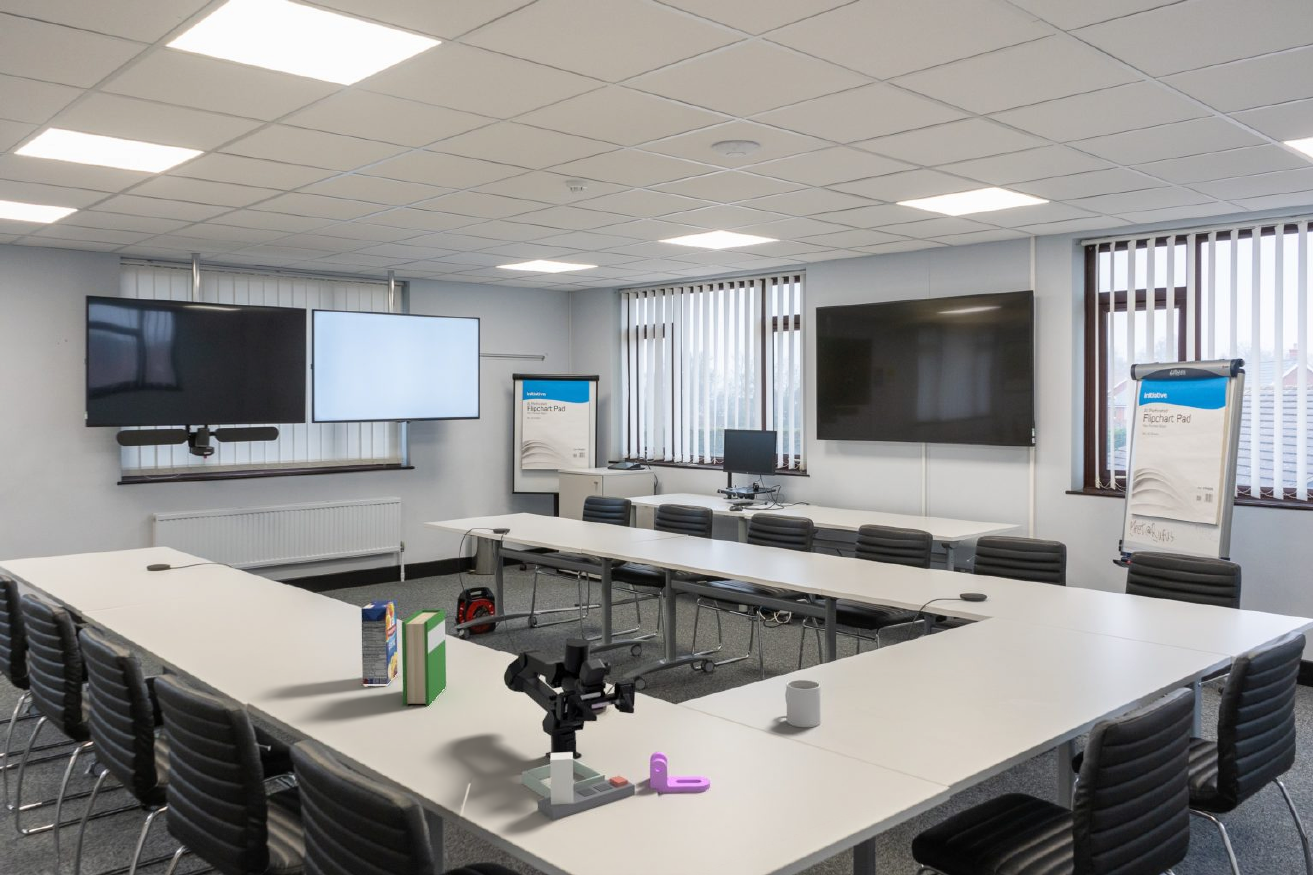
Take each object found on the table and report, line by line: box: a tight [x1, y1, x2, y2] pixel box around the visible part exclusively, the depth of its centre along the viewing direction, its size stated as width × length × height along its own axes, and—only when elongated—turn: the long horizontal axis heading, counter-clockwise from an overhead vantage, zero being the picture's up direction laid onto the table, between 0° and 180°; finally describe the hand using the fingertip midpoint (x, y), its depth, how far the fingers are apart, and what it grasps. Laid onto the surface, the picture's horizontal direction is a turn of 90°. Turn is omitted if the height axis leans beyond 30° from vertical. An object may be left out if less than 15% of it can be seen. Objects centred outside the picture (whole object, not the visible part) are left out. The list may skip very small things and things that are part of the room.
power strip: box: [537, 775, 636, 821], centre depth 190 cm, size 20×6×4 cm, turn 127°
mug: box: [784, 679, 822, 728], centre depth 243 cm, size 11×10×10 cm
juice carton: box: [360, 600, 398, 685], centre depth 286 cm, size 12×8×24 cm, turn 1°
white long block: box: [549, 752, 574, 805], centre depth 187 cm, size 4×4×11 cm
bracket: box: [649, 751, 711, 793], centre depth 200 cm, size 13×6×7 cm, turn 90°
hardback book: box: [401, 608, 447, 707], centre depth 269 cm, size 18×7×24 cm, turn 177°
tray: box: [521, 758, 606, 798], centre depth 200 cm, size 13×13×4 cm
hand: (615, 714), depth 198 cm, fingers open, 9 cm apart
